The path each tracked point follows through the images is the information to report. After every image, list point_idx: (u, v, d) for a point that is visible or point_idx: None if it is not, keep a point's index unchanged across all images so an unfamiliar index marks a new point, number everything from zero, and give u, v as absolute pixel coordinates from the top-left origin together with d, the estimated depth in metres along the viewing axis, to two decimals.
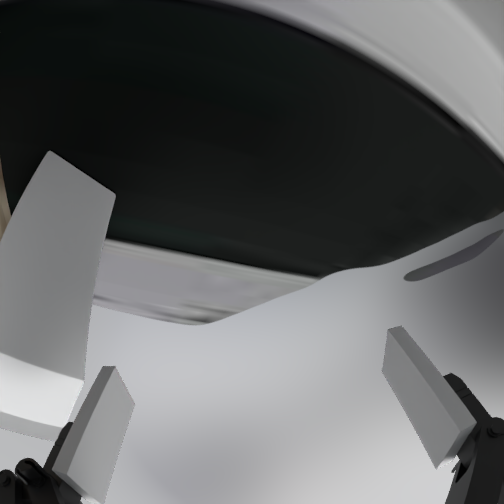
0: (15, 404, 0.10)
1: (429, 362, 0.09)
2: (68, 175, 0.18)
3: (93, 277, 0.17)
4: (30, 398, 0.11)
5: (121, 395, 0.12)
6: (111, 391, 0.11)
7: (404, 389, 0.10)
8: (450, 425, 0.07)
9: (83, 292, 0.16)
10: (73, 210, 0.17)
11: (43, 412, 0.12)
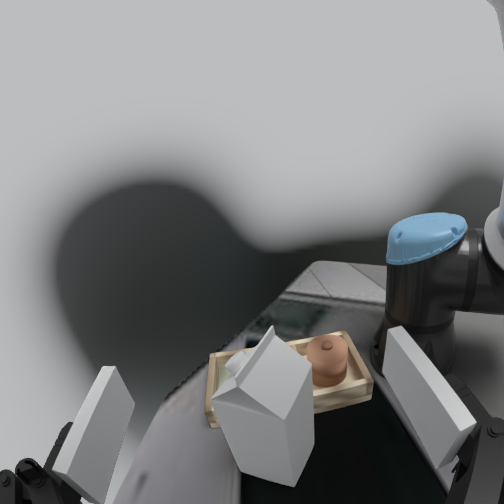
0: (269, 365, 0.24)
1: (429, 362, 0.09)
2: (308, 454, 0.28)
3: (291, 456, 0.23)
4: (274, 378, 0.23)
5: (121, 395, 0.12)
6: (111, 391, 0.11)
7: (404, 389, 0.10)
8: (450, 425, 0.07)
9: (292, 445, 0.23)
10: (303, 453, 0.26)
11: (259, 380, 0.22)
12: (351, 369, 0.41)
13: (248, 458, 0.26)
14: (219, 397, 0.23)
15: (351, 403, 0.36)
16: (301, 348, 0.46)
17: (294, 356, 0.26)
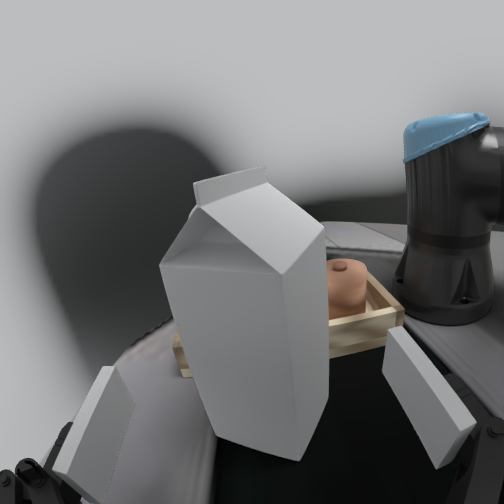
0: (256, 203, 0.15)
1: (429, 362, 0.09)
2: (320, 409, 0.20)
3: (296, 388, 0.14)
4: (263, 218, 0.15)
5: (121, 395, 0.12)
6: (111, 391, 0.11)
7: (404, 389, 0.10)
8: (450, 425, 0.07)
9: (298, 364, 0.14)
10: (314, 400, 0.18)
11: (238, 211, 0.14)
12: (371, 306, 0.33)
13: (225, 404, 0.17)
14: (174, 260, 0.15)
15: (375, 345, 0.27)
16: None
17: (297, 209, 0.17)
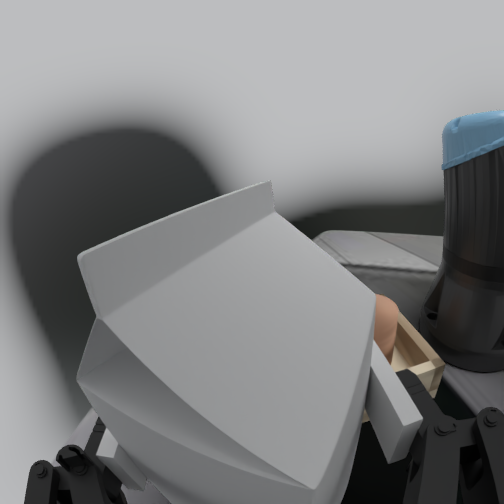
0: (254, 271, 0.07)
1: (383, 357, 0.11)
2: None
3: None
4: (271, 314, 0.06)
5: None
6: None
7: None
8: (396, 419, 0.08)
9: None
10: None
11: (210, 311, 0.05)
12: (398, 351, 0.24)
13: None
14: (98, 377, 0.07)
15: None
16: None
17: (331, 267, 0.09)
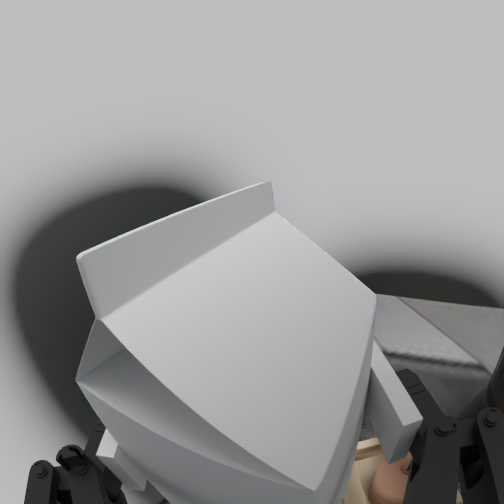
0: (254, 272, 0.07)
1: (383, 357, 0.11)
2: None
3: None
4: (271, 315, 0.06)
5: None
6: None
7: None
8: (396, 419, 0.08)
9: None
10: None
11: (210, 312, 0.05)
12: None
13: None
14: (97, 378, 0.07)
15: None
16: (359, 453, 0.24)
17: (331, 267, 0.09)
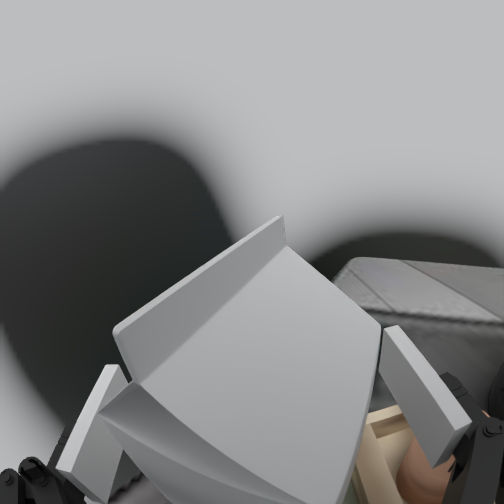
0: (272, 317, 0.07)
1: (425, 362, 0.10)
2: None
3: None
4: (289, 361, 0.06)
5: None
6: (114, 390, 0.11)
7: (400, 388, 0.10)
8: (445, 424, 0.07)
9: None
10: None
11: (236, 365, 0.06)
12: None
13: None
14: (120, 411, 0.07)
15: None
16: (380, 427, 0.18)
17: (340, 302, 0.09)
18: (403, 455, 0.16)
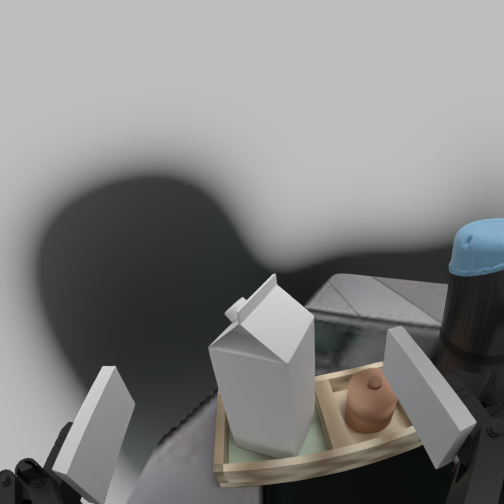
0: (271, 310, 0.24)
1: (430, 362, 0.09)
2: (308, 427, 0.28)
3: (292, 417, 0.23)
4: (276, 322, 0.23)
5: (121, 395, 0.12)
6: (111, 391, 0.11)
7: (404, 389, 0.10)
8: (450, 425, 0.07)
9: (294, 404, 0.23)
10: (303, 422, 0.26)
11: (261, 321, 0.22)
12: (397, 408, 0.29)
13: (246, 426, 0.25)
14: (218, 344, 0.24)
15: (400, 452, 0.24)
16: (335, 383, 0.34)
17: (296, 306, 0.26)
18: None
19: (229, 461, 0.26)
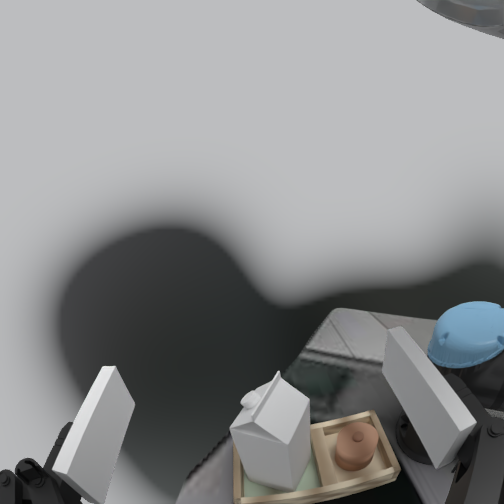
0: (276, 403, 0.29)
1: (429, 362, 0.09)
2: (305, 466, 0.33)
3: (292, 470, 0.28)
4: (280, 413, 0.28)
5: (121, 395, 0.12)
6: (111, 391, 0.11)
7: (404, 389, 0.10)
8: (450, 425, 0.07)
9: (293, 462, 0.28)
10: (301, 467, 0.31)
11: (269, 415, 0.27)
12: (377, 450, 0.34)
13: (257, 471, 0.31)
14: (236, 426, 0.28)
15: (376, 486, 0.29)
16: (328, 429, 0.39)
17: (295, 394, 0.31)
18: None
19: (244, 493, 0.31)
